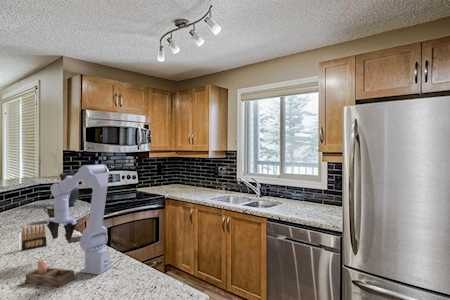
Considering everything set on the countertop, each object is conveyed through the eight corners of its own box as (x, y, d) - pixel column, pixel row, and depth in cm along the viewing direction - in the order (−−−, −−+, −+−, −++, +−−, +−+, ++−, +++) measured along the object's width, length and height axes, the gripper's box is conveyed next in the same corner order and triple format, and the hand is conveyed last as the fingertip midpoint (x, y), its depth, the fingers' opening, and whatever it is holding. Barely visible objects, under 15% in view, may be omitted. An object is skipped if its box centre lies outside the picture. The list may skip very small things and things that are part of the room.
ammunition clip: (46, 245, 156) (45, 222, 155) (46, 246, 154) (46, 223, 154) (21, 250, 149) (20, 226, 148) (21, 251, 147) (21, 227, 147)
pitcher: (51, 207, 248) (50, 172, 247) (68, 203, 268) (68, 169, 268) (70, 208, 245) (69, 172, 244) (86, 203, 265) (85, 170, 265)
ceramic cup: (66, 219, 208) (66, 205, 208) (57, 223, 198) (57, 208, 198) (49, 219, 210) (49, 205, 210) (39, 223, 200) (39, 208, 200)
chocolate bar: (69, 242, 159) (65, 234, 173) (69, 244, 159) (65, 235, 173) (87, 239, 164) (81, 231, 179) (87, 240, 164) (82, 232, 179)
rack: (75, 277, 117) (75, 270, 117) (59, 287, 109) (59, 279, 109) (42, 273, 121) (42, 266, 121) (24, 282, 113) (24, 274, 113)
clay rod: (48, 274, 118) (48, 259, 118) (43, 278, 115) (43, 262, 115) (40, 274, 118) (40, 259, 118) (35, 278, 115) (35, 262, 115)
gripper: (81, 208, 138) (81, 237, 138) (55, 206, 141) (56, 235, 142) (69, 211, 131) (70, 242, 131) (43, 210, 135) (43, 239, 135)
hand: (62, 239), depth 136 cm, fingers open, 7 cm apart
